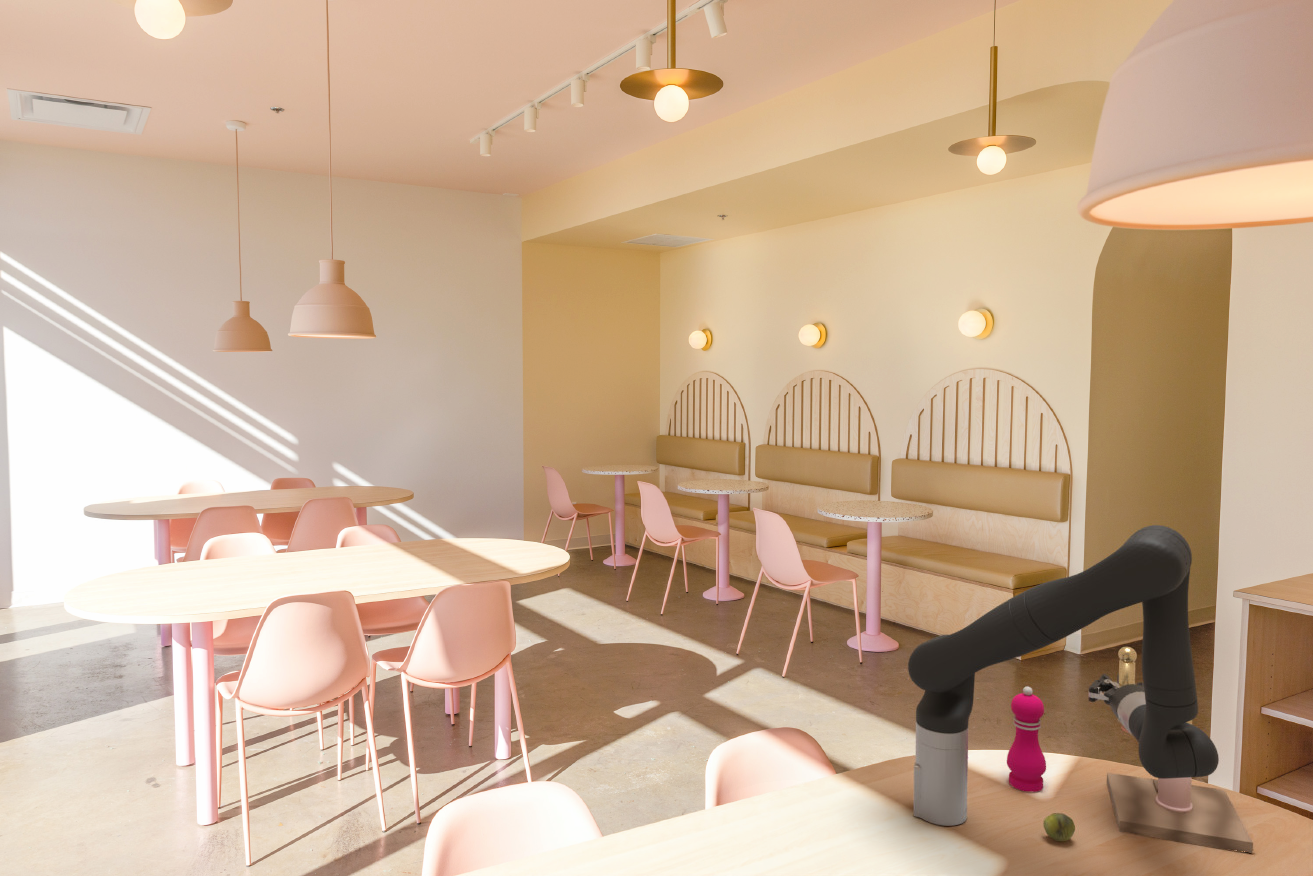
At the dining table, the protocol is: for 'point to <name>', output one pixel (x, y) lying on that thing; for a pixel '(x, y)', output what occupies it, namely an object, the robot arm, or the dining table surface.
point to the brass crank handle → (1128, 670)
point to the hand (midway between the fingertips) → (1111, 679)
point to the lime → (1059, 826)
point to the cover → (1175, 794)
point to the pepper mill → (1026, 743)
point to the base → (1177, 815)
